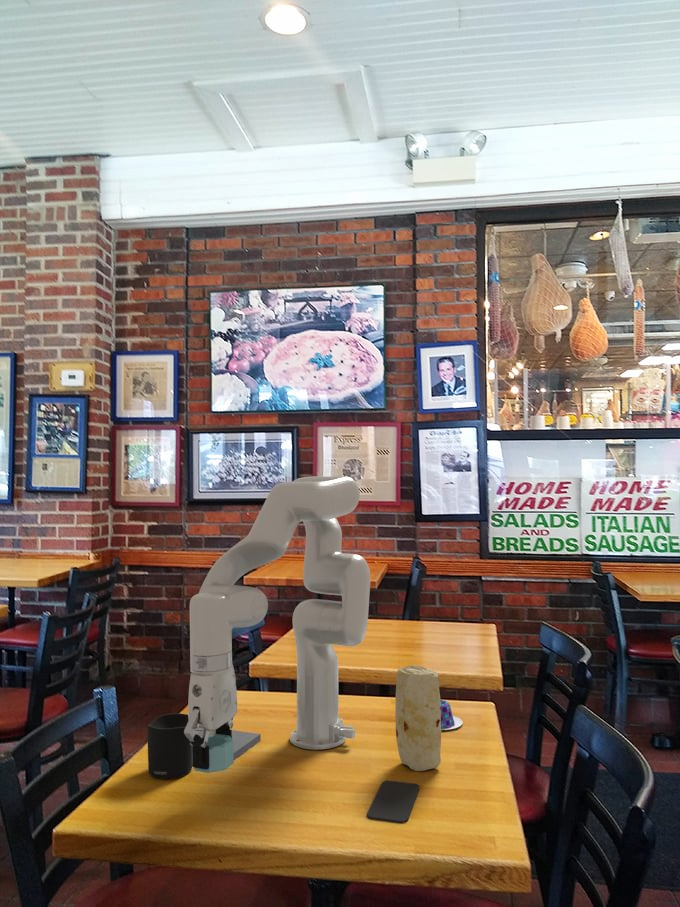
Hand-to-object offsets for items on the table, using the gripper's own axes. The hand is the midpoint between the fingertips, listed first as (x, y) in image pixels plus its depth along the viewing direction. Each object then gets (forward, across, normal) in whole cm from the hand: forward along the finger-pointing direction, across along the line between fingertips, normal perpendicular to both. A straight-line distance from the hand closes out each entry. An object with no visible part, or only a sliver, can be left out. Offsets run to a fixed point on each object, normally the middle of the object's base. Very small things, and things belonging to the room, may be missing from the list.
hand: (212, 758), depth 122 cm
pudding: (+11, +56, -29) cm, 64 cm away
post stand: (+9, +23, +13) cm, 28 cm away
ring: (+1, 0, 0) cm, 1 cm away
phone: (+9, +12, -31) cm, 34 cm away
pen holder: (+8, +9, +16) cm, 20 cm away
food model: (+9, +29, -31) cm, 43 cm away
